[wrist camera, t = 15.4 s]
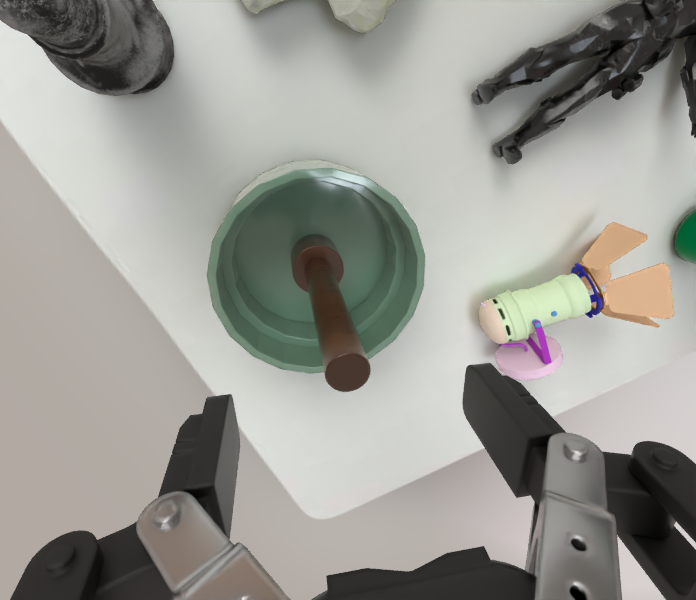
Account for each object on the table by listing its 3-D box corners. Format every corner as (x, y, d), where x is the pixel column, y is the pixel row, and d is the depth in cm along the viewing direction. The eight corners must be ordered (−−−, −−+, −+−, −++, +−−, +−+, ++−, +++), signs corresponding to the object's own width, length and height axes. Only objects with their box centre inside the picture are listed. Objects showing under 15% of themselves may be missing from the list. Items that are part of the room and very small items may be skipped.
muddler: (288, 236, 28) (300, 340, 14) (336, 232, 28) (391, 329, 15) (293, 281, 29) (307, 414, 16) (338, 276, 30) (390, 403, 16)
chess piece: (127, -48, 21) (-29, -228, 10) (200, 63, 24) (137, 12, 13) (40, 17, 22) (-196, -90, 11) (121, 119, 24) (-5, 115, 13)
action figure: (450, -15, 21) (827, -281, 19) (426, 4, 25) (737, -214, 22) (545, 235, 28) (829, 68, 26) (516, 220, 32) (761, 73, 29)
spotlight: (600, 216, 32) (666, 241, 25) (615, 303, 35) (678, 347, 28) (457, 270, 34) (482, 307, 28) (483, 348, 37) (511, 399, 31)
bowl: (205, 165, 26) (187, 175, 20) (399, 154, 28) (429, 162, 22) (236, 339, 31) (227, 384, 26) (396, 321, 33) (420, 360, 28)
